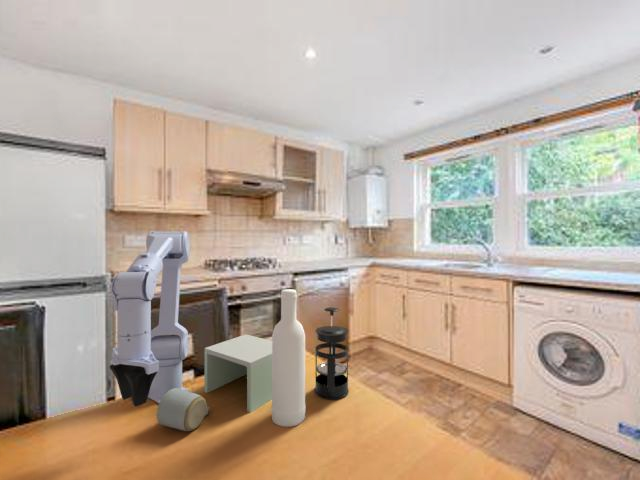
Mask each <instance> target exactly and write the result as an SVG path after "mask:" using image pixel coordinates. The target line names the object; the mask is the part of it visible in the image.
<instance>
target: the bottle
mask: <svg viewBox="0 0 640 480" xmlns="http://www.w3.org/2000/svg"><path fill="white" fill-rule="evenodd" d="M280 293H281V294H280V320H279V322H278V323H276V324H275V325H274V328H273V331H272V335H271V338H272V339H271V341H272V399H271V419H272V422H273V423H274V425H275V424H276V425H277V426H279V427H284V428H290V427H295V426H299V425H300V424H301V423H302V422H304V420H305V418H306V409H307V408H306V332H305V330H304V327H303V324H302V323H301V322H300V321H299V320H298V319H297V299H298V294H297V293H298V292H297V290H296V289H293V288H289V289H281V290H280Z"/></svg>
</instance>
